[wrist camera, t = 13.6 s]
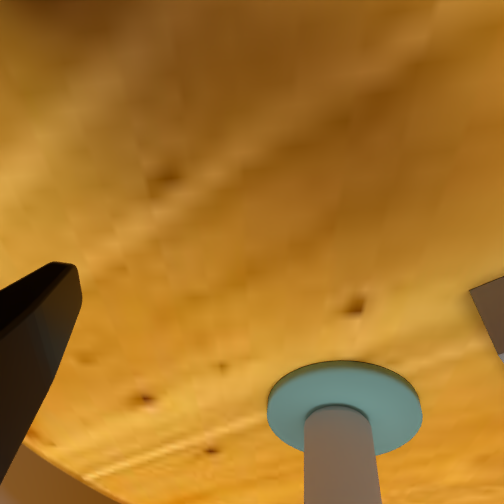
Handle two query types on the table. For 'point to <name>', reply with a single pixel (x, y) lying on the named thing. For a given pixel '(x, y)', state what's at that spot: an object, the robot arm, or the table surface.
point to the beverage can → (339, 458)
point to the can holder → (492, 311)
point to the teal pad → (346, 401)
